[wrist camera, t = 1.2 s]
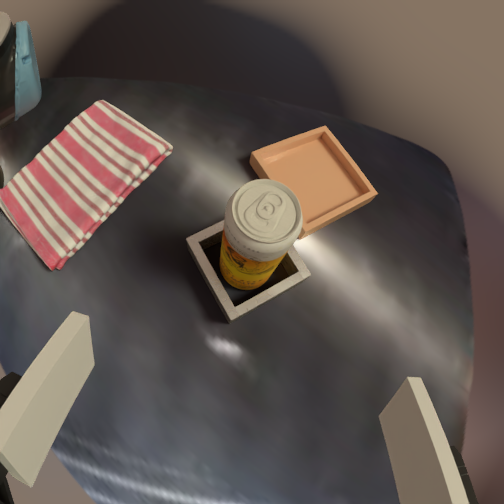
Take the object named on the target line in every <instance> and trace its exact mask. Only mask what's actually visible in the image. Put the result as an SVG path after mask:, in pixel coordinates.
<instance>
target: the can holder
mask: <svg viewBox="0 0 504 504" xmlns="http://www.w3.org/2000/svg"><path fill="white" fill-rule="evenodd" d="M223 228H224V220H223V221H221V222H219V223H217V224H215V225H213V226H210V227H208V228H206V229H204V230H202V231H200V232H198V233H196V234H194V235H192V236H190V237H188V238H186V242H187V248H188V251H189V253H190V254H191V256H192V258H193V260H194V262H195V264H196V266H197V267H198V269H199V271H200V273H201V275H202V277H203V278H204V280H205V282H206V284H207V286H208V287H209V289H210V291H211V293H212V295H213V296H214V298H215V300H216V302H217V304H218V305H219V307H220V309H221V311H222V312H223V314H224V316H225V318H226V319H227V321H228V323H229V324H230V323H232V322H234V321H236V320H238V319H239V318H241V317H243V316H245V315H246V314H248V313H250V312H252V311H254V310H255V309H257V308H259V307H261V306H262V305H264V304H266V303H268V302H269V301H271V300H273V299H275V298H276V297H278V296H280V295H282V294H283V293H285V292H287V291H289V290H290V289H292V288H294V287H295V286H297V285H299V284H301V283H302V282H303V281H305V280H306V279H307V278H308V277H309V276H310V275H311V274H310V272H309V270H308V269H307V267H306V266H305V264H304V262H303V261H302V259H301V258H300V256H299V254H298V253H297V251H296V250H295V248H294V246H293V245H292V246H291V248H290V249H289V250H288V252H287V253H286V255H285V256H284V257H283V259H282V260H281V263H282V265H283V266H284V268H285V270H286V271H287V273H288V275H289V276H290V277H288V278H287V279H285V280H283V281H281V282H279V283H278V284H276V285H274V286H272V287H271V288H269V289H267V290H265V291H263V292H262V293H260V294H258V295H256V296H254V297H253V298H251V299H249V300H247V301H245V302H244V303H242V304H240V305H238V306H236V307H234V305H233V303H232V301H231V300H230V298H229V296H228V295H227V293H226V291H225V289H224V287H223V286H222V284H221V282H220V280H219V279H218V277H217V275H216V273H215V272H214V270H213V268H212V266H211V264H210V263H209V261H208V259H207V257H206V255H205V254H204V252H203V250H205V249H207V248H209V247H211V246H213V245H215V244H217V243H219V242H221V241H222V236H223Z"/></svg>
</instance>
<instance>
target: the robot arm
mask: <svg viewBox="0 0 504 504" xmlns="http://www.w3.org/2000/svg"><path fill="white" fill-rule="evenodd" d="M40 98H41V84H40V78H39V72H38V66H37V61H36V55H35V50H34V44H33V39H32V35H31V30H30V26H29V24H28V22H27V21H22V22H17V23H16V24H15V25H14V26H13V24H12V22H11V20H10V17H9V16H8V14H6V13H5V12H0V129H2V128H3V127H5V126H7V125H8V124H10V123H12V122H14V121H16V120H18V118H19V117H20V116H22V115H24V114H25V113H27V112H28V111H30V110H31V109H33V108H34V107H35V106H36V105H37V104H38V102H39V100H40ZM3 184H4V175H3V170H2V168H1V166H0V189H2V188H3ZM94 365H95V363H94V356H93V349H92V341H91V333H90V324H89V316H86V315H83V314H80V313H77V312H74V311H72V312H71V313H70V315H69V316H68V317H67V318H66V320H65V321H64V322H63V323H62V325H61V326H60V327H59V328H58V330H57V331H56V332H55V334H54V335H53V336H52V337H51V339H50V340H49V341H48V343H47V344H46V345H45V347H44V348H43V349H42V351H41V352H40V353H39V355H38V356H37V357H36V359H35V360H34V361H33V363H32V364H31V365H30V367H29V368H28V370H27V371H26V372H25V374H24V375H23V377H22V376H20V375H18V374H16V373H14V372H11V373H10V374H8V375H7V376H5V377H3V378H2V379H1V380H0V504H14V502H13V498H12V495H11V492H10V488H9V485H8V482H7V479H6V474H7V473H8V472H9V473H10V474H11V475H12V476H13V477H14V478H15V479H17V480H19V481H20V482H22V483H24V484H26V485H27V486H29V487H31V488H32V486H33V484H34V482H35V480H36V477H37V475H38V473H39V471H40V469H41V467H42V464H43V462H44V460H45V458H46V456H47V454H48V452H49V450H50V448H51V446H52V444H53V442H54V440H55V438H56V436H57V434H58V432H59V430H60V428H61V426H62V424H63V422H64V420H65V418H66V416H67V414H68V412H69V410H70V409H71V407H72V405H73V403H74V401H75V399H76V397H77V396H78V394H79V392H80V390H81V388H82V386H83V385H84V383H85V381H86V379H87V377H88V376H89V374H90V372H91V370H92V369H93V367H94ZM379 419H380V423H381V426H382V430H383V434H384V437H385V441H386V445H387V449H388V453H389V457H390V461H391V465H392V469H393V473H394V477H395V482H396V486H397V491H398V495H399V500H400V504H478V502H477V499H476V496H475V493H474V490H473V487H472V484H471V481H470V478H469V475H467V470H466V467H464V465H465V464H464V462H463V459H462V456H461V454H460V453H459V452H458V450H457V449H456V448H455V447H454V446H449V444H448V441H447V439H446V436H445V434H444V431H443V429H442V426H441V424H440V421H439V419H438V416H437V414H436V412H435V409H434V407H433V404H432V402H431V400H430V397H429V395H428V393H427V391H426V388H425V386H424V384H423V382H422V379H421V378H417V377H407V378H406V379H405V381H404V382H403V384H402V385H401V387H400V388H399V389H398V391H397V392H396V394H395V395H394V396H393V398H392V399H391V400H390V402H389V403H388V404H387V406H386V407H385V408H384V410H383V411H382V412H381V414H380V415H379Z"/></svg>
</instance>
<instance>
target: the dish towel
mask: <svg viewBox="0 0 504 504" xmlns="http://www.w3.org/2000/svg"><path fill="white" fill-rule="evenodd" d="M172 150H173V146H172V145H171V144H169V143H168V142H166V141H165V140H164V139H162V138H161V137H160V136H158V135H157V134H155V133H154V132H152V131H151V130H149V129H148V128H146V127H145V126H143V125H142V124H140V123H139V122H137V121H136V120H134V119H133V118H131V117H130V116H128V115H127V114H125V113H124V112H122V111H121V110H119V109H118V108H116V107H114V106H113V105H111V104H109V103H107V102H106V101H104V100H100V101H97V102H95V103H94V104H93V105H92V106H91V107H89V108H88V109H86V110H85V111H83V112H82V113H81V114H80V115H79V116H77V117H76V118H74V119H73V120H72V121H71V123H70V124H68V125H67V126H66V127H65V128H64V130H63V131H62V132H61V133H60V134H59V135H58V136H57V137H56V138H54V139H53V140H52V141H51V142H50V143H49V144H48V145H46V146H45V147H44V148H43V149H42V151H41V152H39V153H38V154H37V155H36V157H35V158H34V159H33V160H32V161H31V162H30V163H29V164H28V165H26V166H24V167H23V168H22V169H21V171H19V172H18V173H17V174H16V175H15V176H14V177H13V178H12V179H11V180H10V181H9V182H8V183H7V185H6V186H5V187H4V188H2V189H0V207H1V209H2V210H3V211H4V213H5V214H6V216H7V217H8V218H9V220H10V221H11V222H12V224H13V225H14V226H15V227H16V229H17V230H18V231H19V232H20V234H21V235H22V236H23V238H24V239H25V240H26V241H27V243H28V244H29V245H30V246H31V247H32V249H33V250H34V251H35V252H36V253H37V255H38V256H39V257H40V258H41V259H42V260H43V261H44V263H45V264H46V265H47V266H48V267H49V268H50V270H52V271H53V270H54V269H55V267H56V268H57V269H59V270H61V269H62V267H63V266H64V264H65V262H66V261H67V259H68V258H70V257H72V256H73V255H74V254H75V253H76V251H77V250H79V249H80V248H81V247H82V246H83V245H84V244H85V242H86V241H87V240H88V239H89V238H90V237H91V236H92V234H93V233H94V232H95V230H96V229H97V228H98V227H99V226H100V224H101V223H102V222H104V221H105V220H106V219H107V218H108V216H109V215H110V214H112V213H113V212H114V211H115V210H116V209H117V207H118V206H119V205H120V204H121V203H122V202H123V201H124V200H125V198H126V197H127V196H128V195H129V194H130V193H131V192H132V191H133V190H134V189H135V188H137V187H138V186H139V185H140V184H141V183H142V182H143V181H144V180H145V179H146V178H147V177H148V176H149V175H150V174H151V173H152V172H153V171H154V170H155V169H156V168H157V167H158V165H159V164H160V163H161V162H162V161H163V160H164V159H165V158H166V157H167V156H168V155H170V154H171V153H172Z"/></svg>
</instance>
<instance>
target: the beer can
mask: <svg viewBox="0 0 504 504" xmlns="http://www.w3.org/2000/svg"><path fill="white" fill-rule="evenodd" d="M302 224H303V216H302V211H301V206H300V202H299V200H298V198H297V197H296V195H295V194H294V193H293V191H292V190H291V189H289V188H288V187H287V186H285V185H284V184H282V183H280V182H278V181H275V180H270V179H257V180H253V181H250V182H248V183H246V184H245V185H243V186H242V187H241V188H239V189H238V190H237V191H236V192H234V194H233V195H232V196H231V197H230V199H229V201H228V203H227V206H226V211H225V220H224V228H223V236H222V245H221V254H220V271H221V273H222V275H223V277H224V279H225V280H226V281H227V282H228V283H229V284H230V285H232V286H233V287H235V288H238V289H242V290H252V289H256V288H258V287H260V286H262V285H263V284H264V283H265V282H266V281H267V280H268V278H269V277H270V276H271V274H272V273H273V271H274V270H275V269H276V267H277V266H278V264H279V263H280V262H281V260H282V259H283V257H284V256H285V255H286V253H287V252H288V250H289V249H290V248H291V246H292V245H293V243H294V242H295V241H296V239H297V238H298V236H299V234H300V232H301V229H302Z"/></svg>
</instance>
